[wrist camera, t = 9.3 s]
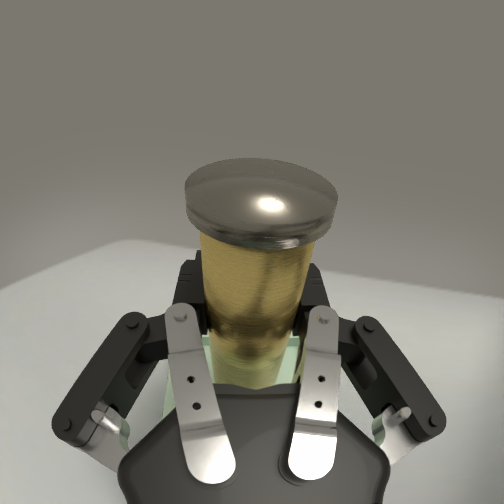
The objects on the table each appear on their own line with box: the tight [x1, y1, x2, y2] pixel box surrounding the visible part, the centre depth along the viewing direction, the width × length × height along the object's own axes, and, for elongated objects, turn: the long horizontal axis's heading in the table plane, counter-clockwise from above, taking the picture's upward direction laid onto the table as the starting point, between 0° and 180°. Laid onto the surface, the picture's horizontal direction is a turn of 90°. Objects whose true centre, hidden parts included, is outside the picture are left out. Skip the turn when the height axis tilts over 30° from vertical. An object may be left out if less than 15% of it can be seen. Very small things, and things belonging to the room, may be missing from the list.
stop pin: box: [185, 158, 338, 390], centre depth 12 cm, size 5×5×13 cm
